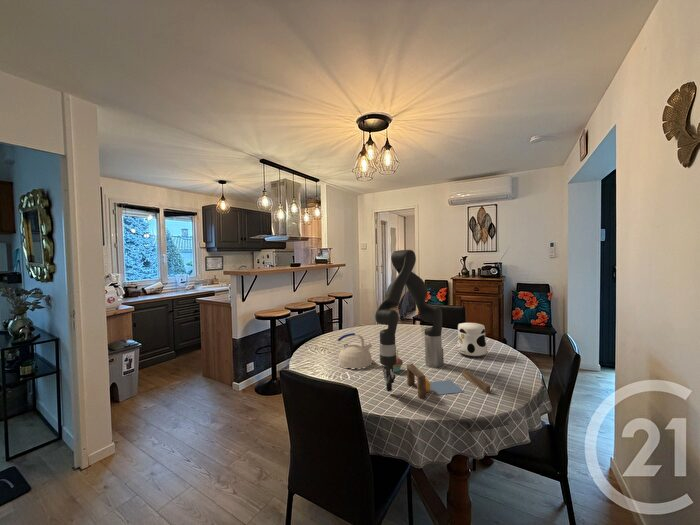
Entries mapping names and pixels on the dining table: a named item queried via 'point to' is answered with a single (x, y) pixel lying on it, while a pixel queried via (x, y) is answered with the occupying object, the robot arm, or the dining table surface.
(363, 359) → the kettle
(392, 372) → the robot arm
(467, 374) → the wall
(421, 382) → the bridge
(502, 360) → the dining table surface
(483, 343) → the milk container
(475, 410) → the dining table surface
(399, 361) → the cupcake
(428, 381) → the ball
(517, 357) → the dining table surface
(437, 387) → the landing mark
